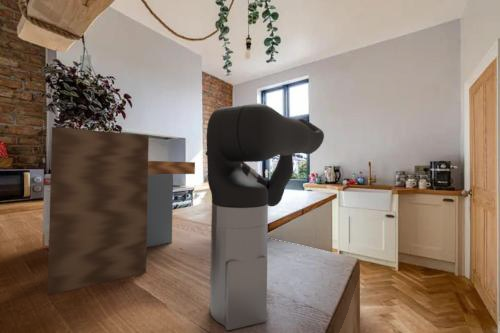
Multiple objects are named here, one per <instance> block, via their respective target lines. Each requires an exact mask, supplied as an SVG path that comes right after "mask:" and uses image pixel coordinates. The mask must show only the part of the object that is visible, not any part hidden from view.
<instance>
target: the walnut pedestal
mask: <svg viewBox="0 0 500 333" xmlns="http://www.w3.org/2000/svg"><path fill="white" fill-rule="evenodd" d="M149 136H150V135H148V134H137V133H136V134H135V133H126V132H113V131H101V130H92V129H91V130H90V129H79V128H68V127H57V126H51V143H50V144H51V151H50V154H51V155H50V174H51V184H50V224H49V249H48V263H47V264H48V266H47V267H48V270H47V273H48V274H47V296H51V295H55V294H56V295H57V294H60V293H65V292H68V291H73V290H77V289H82V288H86V287H90V286H91V287H92V286H94V285H98V284H99V285H100V284H103V283H106V282H112V281H117V280H120V279H124V278H129V277H134V276H137V275H143V274H146V273H147V248H148V247H147V196H148V161H149V144H150V143H149Z"/></svg>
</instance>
